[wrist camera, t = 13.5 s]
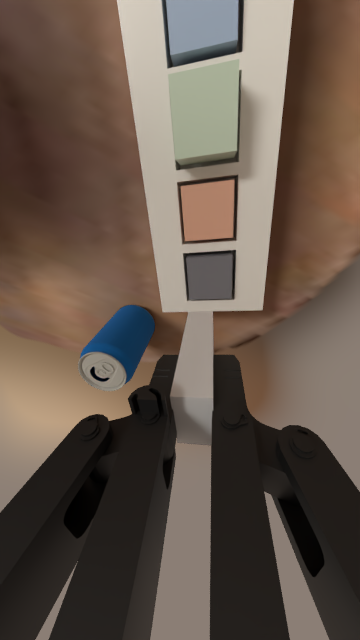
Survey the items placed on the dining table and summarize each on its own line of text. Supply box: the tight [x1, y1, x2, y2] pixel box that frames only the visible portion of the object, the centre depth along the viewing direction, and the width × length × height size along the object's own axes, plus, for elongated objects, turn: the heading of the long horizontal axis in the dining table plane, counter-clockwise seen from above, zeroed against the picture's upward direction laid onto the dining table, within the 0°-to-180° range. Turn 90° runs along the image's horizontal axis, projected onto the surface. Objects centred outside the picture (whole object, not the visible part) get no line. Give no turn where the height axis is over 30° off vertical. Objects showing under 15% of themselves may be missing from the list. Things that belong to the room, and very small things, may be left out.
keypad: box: [117, 0, 294, 312], centre depth 21 cm, size 12×28×5 cm, turn 5°
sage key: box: [168, 59, 239, 165], centre depth 17 cm, size 5×5×3 cm
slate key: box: [166, 0, 239, 67], centre depth 15 cm, size 5×5×3 cm
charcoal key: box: [186, 250, 233, 300], centre depth 24 cm, size 5×5×3 cm
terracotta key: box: [181, 180, 234, 241], centre depth 21 cm, size 5×5×3 cm
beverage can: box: [78, 305, 155, 391], centre depth 29 cm, size 6×6×12 cm
